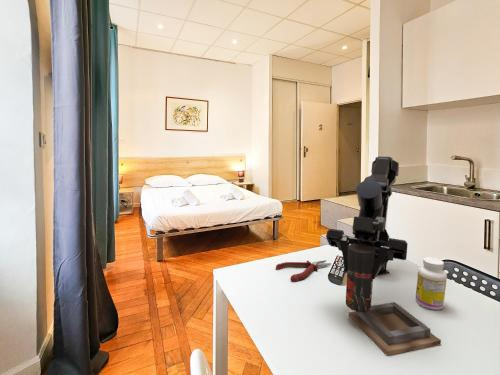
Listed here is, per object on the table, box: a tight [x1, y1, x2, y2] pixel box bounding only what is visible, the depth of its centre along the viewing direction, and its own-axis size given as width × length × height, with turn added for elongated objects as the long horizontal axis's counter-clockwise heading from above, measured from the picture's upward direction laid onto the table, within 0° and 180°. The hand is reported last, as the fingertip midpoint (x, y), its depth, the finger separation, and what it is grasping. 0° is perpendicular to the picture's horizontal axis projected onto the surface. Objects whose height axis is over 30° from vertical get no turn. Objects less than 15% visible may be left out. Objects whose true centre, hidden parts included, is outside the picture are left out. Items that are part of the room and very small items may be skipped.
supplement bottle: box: [415, 256, 448, 311], centre depth 76 cm, size 7×7×13 cm
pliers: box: [275, 259, 332, 283], centre depth 98 cm, size 12×20×3 cm, turn 116°
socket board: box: [348, 301, 442, 357], centre depth 66 cm, size 14×14×3 cm
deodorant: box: [345, 244, 375, 312], centre depth 67 cm, size 6×6×15 cm
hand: (359, 275), depth 66 cm, fingers closed on deodorant, 6 cm apart
